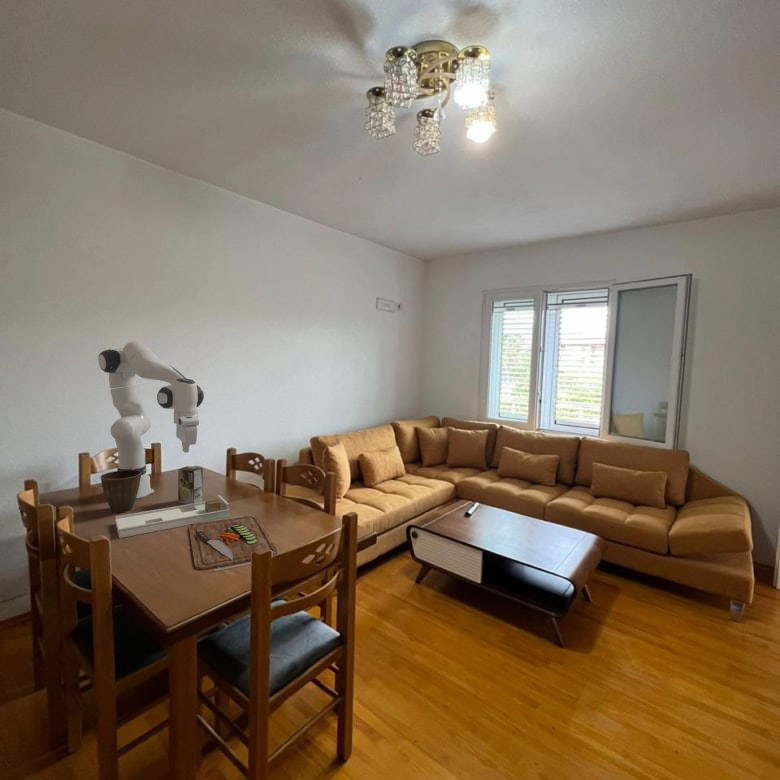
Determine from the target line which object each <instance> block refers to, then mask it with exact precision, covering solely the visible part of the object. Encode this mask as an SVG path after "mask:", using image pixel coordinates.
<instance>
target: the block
mask: <svg viewBox="0 0 780 780" xmlns="http://www.w3.org/2000/svg"><path fill="white" fill-rule="evenodd" d="M204 502H205V510H206V511H207V513H210V512H215V511H220V501H219V500H218V498H215V499H207V500H204Z"/></svg>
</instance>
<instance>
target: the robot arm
mask: <svg viewBox="0 0 780 780" xmlns="http://www.w3.org/2000/svg"><path fill="white" fill-rule="evenodd" d="M97 361H98V365H99V367H100V370H101V371H103V372H104V373H107V374H108V382H109V388H110V394H111V399H112V404H113V406H114V408H116V410H117V412H118V413H119V416H120V418H118V419H117V420H116V421H115V422H113V423H112V425H111V426H110V429H109V430H110V435H111V436H112V437H113V439H114V441H115V444H116V449H117V457H118V458H117V460H118V461H117V462H118V463H117V464H118V467H117V470H116V471H121V470H137V471H140V472H141V479H140V485H139V489H138V493H137V496H136V499H140V498H144V497H147V496H149V495H150V494H153V493H155V489H153V488H151V477H150V476H149V474H147V470H148V469H147V465H146V449H145V447H144V446H143V443H142V438H141V437H142V436H143V435H145V434H146V433H147V432H148V431H149V430H150V428H151V425H152V421H151V419H150V418H149V417H148V415H147V413H146V412H145V408H144V406H143V404H142V402H141V398H140V392H139V387H138V386H139V385H138V382H137V379H136V375H137V376H138V377H140V378H142V379H144V380H145V379H146V380H155V381H160V382H161V381H162V382H166V383H168V384H169V385H166V386H162V387H161V388H160V389H159V390H158V392H157V394H156V395H157V396H156V401H157V404H158V406H160V407H161V408H162V409H166V410H173V423H174V424H176V428H175V429H176V430H175V432H176V433H175V435H176V438H177V439H179V441H181V446H182V447H181V448H182V452H184V453H189V452H190V445H191V446H193V445H196V443H197V440H198V438H197V437H198V426H199V425H200V420H199V414H198V413H199V411H198V408H199V406H201V404H202V403H203V401H204V398H205V394H204V391H203V390H202V388H201V387H200V385H197V382H196V381H195V380H194V379H190V378H186V377H185V376H184V375H183V374H182V373H181V372H179V370H178V369H176V368H175V367H173V366H171V365H170V364H168V363H166V362H165V361H163V360H162V359H160V358H159V357H158V356H157V355H156V354H155V353H154V352H153V351H152V350H151V349H150V348H149V347H148V346H147V345H145V344H144V343H142V342H140V341H137V340H136V341H135V340H134V341H130V342H128V343H126V344H125V345H124V347H122V348H114V349H106V350H105V349H104V350H103V351H101V352H100V353H99V355H98V358H97Z"/></svg>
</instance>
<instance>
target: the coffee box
mask: <svg viewBox="0 0 780 780" xmlns="http://www.w3.org/2000/svg"><path fill="white" fill-rule="evenodd" d="M203 478H204V477H203V467H199V466H198V467H196V466H183V467H181V468H178V469H177V493H178V495H177V497H178V498H177V499H178V501H177V503H178V504H183V505H187V504H193V503H199V502H204V500H203V498H204V497H203V493H204V492H203V491H204V490H203V489H204V487H203V486H204V485H203V483H204V482H203V481H204V479H203Z"/></svg>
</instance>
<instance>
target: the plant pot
mask: <svg viewBox="0 0 780 780" xmlns="http://www.w3.org/2000/svg"><path fill="white" fill-rule="evenodd" d="M140 479H141V472H140V471H137V470H121V471H117V470H114V471H111V472H107V473H104V474H102V475H101V476H100V480H101V486H102V491H103V492H104V496H105V499H106V501H107V503H108V506H109V509H110V510H111V513H113V514H114V513H115V514H121V513H126V512H130V511H131V510H133V507H134V505H135V503H136V499H137V498H136V496H137V493H138V489H139V485H140Z"/></svg>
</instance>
